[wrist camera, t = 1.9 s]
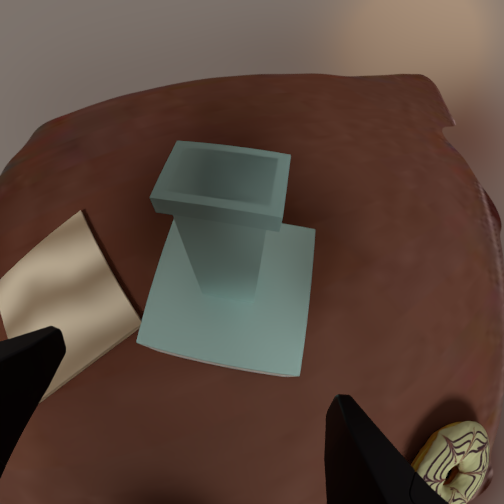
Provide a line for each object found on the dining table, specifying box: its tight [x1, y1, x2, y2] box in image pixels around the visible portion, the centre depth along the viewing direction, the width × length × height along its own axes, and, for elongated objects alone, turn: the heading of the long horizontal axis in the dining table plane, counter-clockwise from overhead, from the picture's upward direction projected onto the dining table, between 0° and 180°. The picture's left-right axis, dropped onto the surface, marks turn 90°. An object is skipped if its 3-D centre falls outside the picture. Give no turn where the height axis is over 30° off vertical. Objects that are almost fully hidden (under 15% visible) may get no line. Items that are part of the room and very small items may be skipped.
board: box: [0, 210, 142, 403], centre depth 20 cm, size 14×14×1 cm
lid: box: [136, 141, 315, 376], centre depth 14 cm, size 10×10×12 cm
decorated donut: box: [411, 421, 489, 504], centre depth 13 cm, size 10×11×4 cm
